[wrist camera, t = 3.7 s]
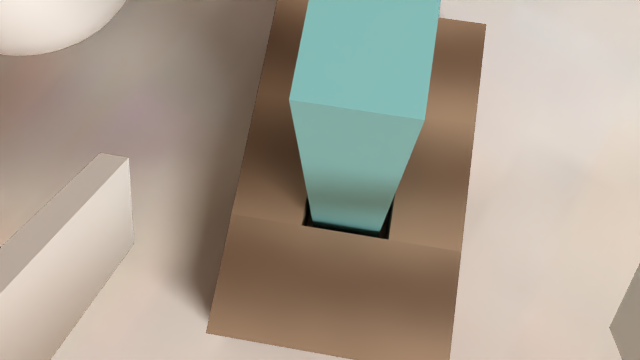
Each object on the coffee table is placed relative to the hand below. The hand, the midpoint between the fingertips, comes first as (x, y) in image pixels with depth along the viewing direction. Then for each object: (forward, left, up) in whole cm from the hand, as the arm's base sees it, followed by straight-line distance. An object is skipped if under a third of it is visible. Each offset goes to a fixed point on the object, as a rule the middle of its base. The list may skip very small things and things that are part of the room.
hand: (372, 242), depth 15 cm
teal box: (-5, +2, -13) cm, 14 cm away
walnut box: (-5, +2, -13) cm, 14 cm away
